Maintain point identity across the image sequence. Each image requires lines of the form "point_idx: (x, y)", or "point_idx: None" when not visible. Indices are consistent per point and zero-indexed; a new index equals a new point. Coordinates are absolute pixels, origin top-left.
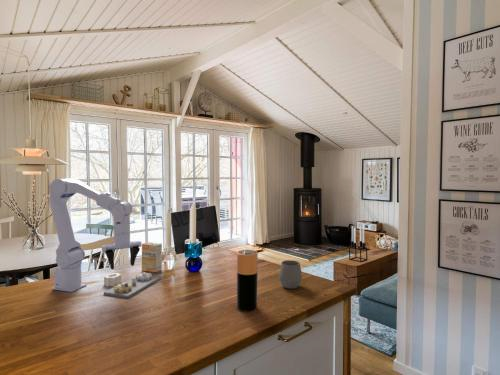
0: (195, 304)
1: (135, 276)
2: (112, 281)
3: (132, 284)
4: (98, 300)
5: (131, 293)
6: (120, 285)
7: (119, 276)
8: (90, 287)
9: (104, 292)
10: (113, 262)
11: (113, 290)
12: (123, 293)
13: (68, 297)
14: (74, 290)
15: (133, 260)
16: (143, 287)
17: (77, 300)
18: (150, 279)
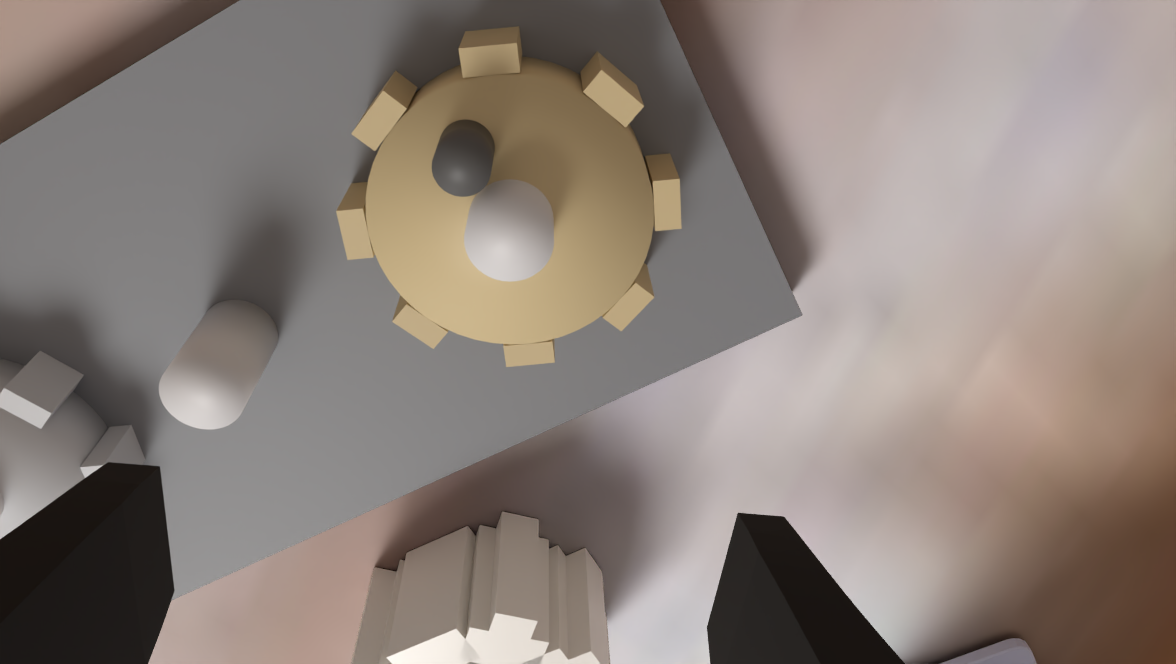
0: None
1: None
2: (533, 574)
3: (275, 326)
4: (973, 124)
5: None
6: (532, 291)
7: (392, 640)
8: None
9: (795, 302)
10: (828, 660)
11: (651, 283)
12: (585, 9)
13: (1139, 507)
14: (971, 652)
15: (25, 571)
16: (125, 70)
17: (1147, 339)
18: None
